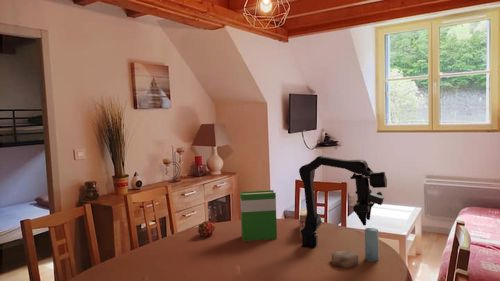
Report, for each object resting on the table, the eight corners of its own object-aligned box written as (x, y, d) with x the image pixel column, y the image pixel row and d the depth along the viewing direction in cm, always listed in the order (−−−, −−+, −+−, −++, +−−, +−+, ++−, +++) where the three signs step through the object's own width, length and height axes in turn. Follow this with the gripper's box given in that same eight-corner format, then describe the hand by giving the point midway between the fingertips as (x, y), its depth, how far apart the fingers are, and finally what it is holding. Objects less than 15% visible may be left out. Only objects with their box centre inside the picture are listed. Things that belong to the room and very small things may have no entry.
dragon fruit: (201, 242, 194) (208, 238, 206) (214, 233, 193) (220, 229, 205) (192, 229, 196) (200, 225, 208) (205, 219, 195) (211, 216, 207)
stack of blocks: (301, 225, 213) (301, 204, 212) (312, 225, 212) (312, 204, 211) (299, 238, 192) (299, 214, 191) (312, 238, 191) (311, 214, 190)
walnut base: (328, 265, 157) (328, 258, 156) (335, 255, 166) (334, 249, 166) (355, 269, 152) (355, 262, 152) (360, 259, 162) (360, 252, 161)
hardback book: (274, 234, 199) (273, 190, 198) (276, 238, 192) (275, 192, 190) (241, 236, 197) (240, 191, 196) (243, 241, 190) (241, 194, 188)
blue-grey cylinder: (364, 260, 161) (363, 230, 160) (366, 255, 165) (366, 227, 165) (377, 262, 158) (377, 232, 157) (379, 257, 163) (379, 228, 162)
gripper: (378, 191, 154) (382, 228, 155) (384, 183, 171) (388, 217, 171) (351, 192, 160) (355, 228, 160) (360, 184, 176) (363, 217, 176)
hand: (366, 222), depth 167 cm, fingers open, 9 cm apart
